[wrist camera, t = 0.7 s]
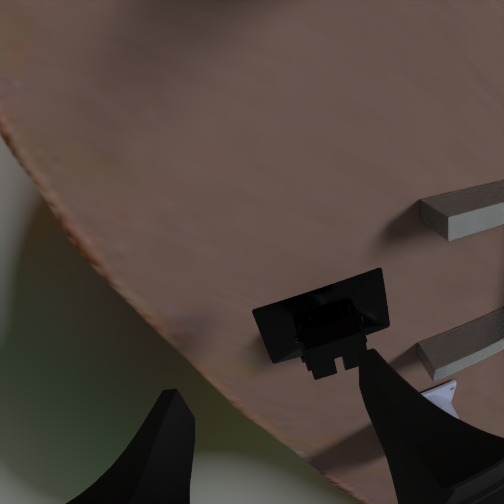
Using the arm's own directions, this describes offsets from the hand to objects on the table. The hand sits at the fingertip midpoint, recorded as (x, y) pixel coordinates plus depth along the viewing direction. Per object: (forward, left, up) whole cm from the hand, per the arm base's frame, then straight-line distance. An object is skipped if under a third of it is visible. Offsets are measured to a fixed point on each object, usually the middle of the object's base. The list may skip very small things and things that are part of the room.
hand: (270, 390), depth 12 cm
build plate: (-5, -4, -10) cm, 12 cm away
